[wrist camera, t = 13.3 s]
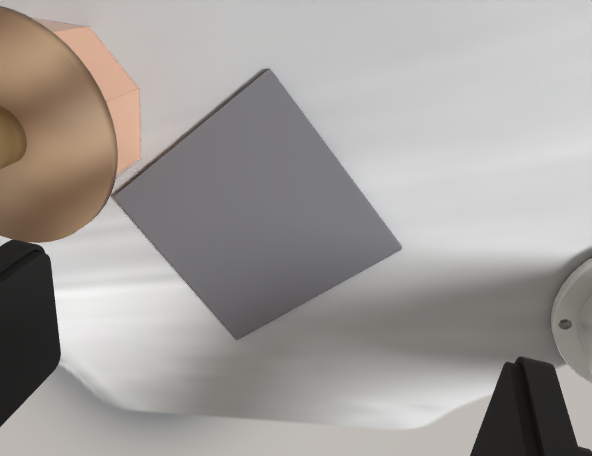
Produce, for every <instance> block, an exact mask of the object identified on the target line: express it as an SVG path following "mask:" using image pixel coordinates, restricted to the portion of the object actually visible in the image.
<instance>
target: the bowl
mask: <svg viewBox="0 0 592 456" xmlns="http://www.w3.org/2000/svg"><path fill="white" fill-rule="evenodd" d="M32 19H34V18H32ZM34 20H36V21H37V22H39V23H41V24H42V25H44V26H45V27H46V28H48V29H49V30H51V31H52V32H53V33H55V34H56V35H57V36H58V37H59V38H60V39H61V40H63V41H64V42H65V43H66V44H67V45H68V46H69V47H70V48H71V49H72V50H73V51H74V53H75V54H76V55H77V56H78V57H79V58H80V59H81V61H82V62H83V63H84V65H85V66H86V67H87V69H88V70H89V71H90V73H91V74H92V76H93V78H94V79H95V81H96V83H97V85H98V86H99V88H100V90H101V92H102V94H103V96H104V99H105V101H106V103H107V105H108V108H109V111H110V114H111V117H112V120H113V124H114V128H115V133H116V139H117V149H118V166H117V173H116V178H117V177H119V176H120V175H121V174H122V173H123V172H124V171H126V170H127V169H128V168H129V167H130V166H132V165H133V164H134V163H135V162H136V161H138V160H139V159H141V153H140V103H139V90H140V89H139V88H138V87H137V86H136V84H135V83H134V82H133V81H132V79H131V78H130V77H129V76H128V75H127V73H126V72H125V71H124V70H123V68H122V67H121V66H120V65H119V63H118V62H117V61H116V60H115V58H114V57H113V56H112V55H111V54H110V52H109V51H108V50H107V49H106V47H105V46H104V45H103V44H102V42H101V41H100V40H99V39H98V37H97V36H96V35H95V34H94V33H93V31H92V30H91V29H90V27H85V26H79V25H72V24H66V23H60V22H53V21H47V20H41V19H34Z"/></svg>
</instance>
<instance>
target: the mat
mask: <svg viewBox="0 0 592 456" xmlns="http://www.w3.org/2000/svg"><path fill="white" fill-rule="evenodd" d="M113 198H114V199H115V200H116V202H117V203H118V204H119V205H120V206H121V207H122V209H123V210H124V211H125V212H126V213H127V214H128V215H129V217H130V218H131V219H132V220H133V221H134V222H135V224H136V225H137V226H138V227H139V228H140V229H141V230H142V232H143V233H144V234H145V235H146V236H147V237H148V239H149V240H150V241H151V242H152V243H153V244H154V245H155V247H156V248H157V249H158V250H159V251H160V252H161V254H162V255H163V256H164V257H165V258H166V259H167V260H168V262H169V263H170V264H171V265H172V266H173V267H174V269H175V270H176V271H177V272H178V273H179V274H180V275H181V277H182V278H183V279H184V280H185V281H186V282H187V284H188V285H189V286H190V287H191V288H192V289H193V290H194V292H195V293H196V294H197V295H198V296H199V297H200V299H201V300H202V301H203V302H204V303H205V304H206V305H207V307H208V308H209V309H210V310H211V311H212V312H213V314H214V315H215V316H216V317H217V318H218V319H219V320H220V322H221V323H222V324H223V325H224V326H225V327H226V329H227V330H228V331H229V332H230V333H231V334H232V335H233V337H234V338H235V339H236V340H238V339H240V338H242V337H243V336H245V335H247V334H249V333H251V332H252V331H254V330H256V329H258V328H260V327H262V326H263V325H265V324H267V323H269V322H271V321H272V320H274V319H276V318H278V317H280V316H282V315H283V314H285V313H287V312H289V311H291V310H292V309H294V308H296V307H298V306H300V305H302V304H303V303H305V302H307V301H309V300H311V299H312V298H314V297H316V296H318V295H320V294H322V293H323V292H325V291H327V290H329V289H331V288H332V287H334V286H336V285H338V284H340V283H342V282H343V281H345V280H347V279H349V278H351V277H352V276H354V275H356V274H358V273H360V272H362V271H363V270H365V269H367V268H369V267H371V266H372V265H374V264H376V263H378V262H380V261H382V260H383V259H385V258H387V257H389V256H391V255H392V254H394V253H396V252H398V251H400V250H401V248H402V246H401V245H400V244H399V242H398V241H397V240H396V238H395V237H394V236H393V234H392V233H391V231H390V230H389V229H388V227H387V226H386V225H385V223H384V222H383V221H382V219H381V218H380V217H379V215H378V214H377V213H376V211H375V210H374V209H373V207H372V206H371V204H370V203H369V202H368V200H367V199H366V198H365V196H364V195H363V194H362V192H361V191H360V190H359V188H358V187H357V186H356V184H355V183H354V182H353V180H352V179H351V178H350V176H349V175H348V173H347V172H346V171H345V169H344V168H343V167H342V165H341V164H340V163H339V161H338V160H337V159H336V157H335V156H334V155H333V153H332V152H331V151H330V149H329V148H328V146H327V145H326V144H325V142H324V141H323V140H322V138H321V137H320V136H319V134H318V133H317V132H316V130H315V129H314V128H313V126H312V125H311V124H310V122H309V121H308V119H307V118H306V117H305V115H304V114H303V113H302V111H301V110H300V109H299V107H298V106H297V105H296V103H295V102H294V101H293V99H292V98H291V97H290V95H289V94H288V92H287V91H286V90H285V88H284V87H283V86H282V84H281V83H280V82H279V80H278V79H277V78H276V76H275V75H274V74H273V72H272V71H271V70H270V69H268V70H267V71H266V72H265V73H263V74H262V75H261V76H260V77H258V78H257V79H256V80H255V81H254V82H252V83H251V84H250V85H249V86H248V87H246V88H245V89H244V90H243V91H241V92H240V93H239V94H238V95H237V96H235V97H234V98H233V99H232V100H231V101H229V102H228V103H227V104H226V105H224V106H223V107H222V108H221V109H220V110H218V111H217V112H216V113H215V114H214V115H212V116H211V117H210V118H209V119H207V120H206V121H205V122H204V123H203V124H201V125H200V126H199V127H198V128H197V129H195V130H194V131H193V132H192V133H190V134H189V135H188V136H187V137H186V138H184V139H183V140H182V141H181V142H180V143H178V144H177V145H176V146H175V147H173V148H172V149H171V150H170V151H169V152H167V153H166V154H165V155H164V156H163V157H161V158H160V159H159V160H158V161H156V162H155V163H154V164H153V165H152V166H150V167H149V168H148V169H147V170H146V171H144V172H143V173H142V174H141V175H139V176H138V177H137V178H136V179H135V180H133V181H132V182H131V183H130V184H129V185H127V186H126V187H125V188H124V189H122V190H121V191H120V192H119V193H118V194H116V195H115V196H114V197H113Z"/></svg>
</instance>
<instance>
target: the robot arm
mask: <svg viewBox="0 0 592 456" xmlns="http://www.w3.org/2000/svg"><path fill="white" fill-rule="evenodd" d="M551 329H552V332H553V336H554V340H555V343H556V345H557V348H558V350H559V353H560V355H561V356H562V357H563V359H564V360H565V362H566V363H567V365H568V366H569V367H570V368H572V369H573V370H574V371H575V372H576V373H577V374H578V375H579V376H581V377H582V378H584V379H586V380H587V381H589V382H590V383H592V258H590V259H589V260H587V261H585V262H584V263H583V264H582V265H581V266H579V267H578V268H577V269H576V270H575V271H574V272H573V273H571V275H570V276H569V277H568V278H567V280H566V281H565V282H564V283H563V285H562V286H561V288H560V290H559V292H558V294H557V296H556V298H555V300H554V304H553V308H552V312H551ZM60 356H61V351H60V342H59V333H58V324H57V315H56V306H55V297H54V287H53V278H52V269H51V261H50V257H49V256H48V255H47V254H45V251H44V249H43V248H42V247H41V246H39V245H36V244H32V243H28V242H23V241H19V240H11V241H8V242H7V243H5V244H3V245H2V246H0V427H1V426H2V425H3V424H4V422H5V421H6V420H7V419H8V418H9V417H10V416H11V415H12V414H13V413H14V412H15V411H16V410H17V409H18V408H19V407H20V406H21V405H22V404H23V403H24V402H25V400H26V399H27V398H28V397H29V396H30V395H31V394H32V393H33V392H34V391H35V390H36V389H37V388H38V387H39V386H40V385H41V384H42V383H43V381H45V379H47V377H48V376H49V375H50V374H51V373H52V372H53V371H54V370H55V369H56V367H57V365H58V363H59V361H60ZM470 456H592V451H591V450H590V449H586V448H582V447H578V445H577V442H576V438H575V435H574V432H573V428H572V425H571V421H570V418H569V415H568V412H567V408H566V405H565V401H564V398H563V395H562V391H561V388H560V385H559V381H558V378H557V374H556V371H555V368H554V366H553V365H552V364H550V363H546V362H542V361H537V360H533V359H529V358H524V357H518V359H517V360H516V362H515V363H511V362H506V363H505V364H504V366H503V368H502V371H501V374H500V377H499V379H498V382H497V385H496V387H495V390H494V393H493V395H492V398H491V401H490V403H489V406H488V409H487V412H486V414H485V417H484V420H483V422H482V425H481V428H480V431H479V433H478V436H477V438H476V441H475V444H474V447H473V449H472V452H471V455H470Z"/></svg>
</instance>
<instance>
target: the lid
mask: <svg viewBox="0 0 592 456" xmlns="http://www.w3.org/2000/svg"><path fill="white" fill-rule="evenodd" d="M117 166H118V149H117V139H116V133H115V128H114V124H113V120H112V117H111V114H110V111H109V108H108V105H107V103H106V101H105V99H104V96H103V94H102V92H101V90H100V88H99V86H98V85H97V83H96V81H95V79H94V78H93V76H92V74H91V73H90V71H89V70H88V69H87V67H86V66H85V65H84V63H83V62H82V61H81V59H80V58H79V57H78V56H77V55H76V54H75V53H74V51H73V50H72V49H71V48H70V47H69V46H68V45H67V44H66V43H65V42H64V41H63V40H61V39H60V38H59V37H58V36H57V35H56V34H55V33H53V32H52V31H51V30H49V29H48V28H46V27H45V26H44V25H42V24H41V23H39V22H37V21H36V20H34V19H32V18H30V17H28V16H26V15H25V14H22V13H19V12H17V11H14V10H12V9H9V8H5V7H1V6H0V236H3V237H6V238H10V239H13V240H19V241H24V242H38V243H40V242H50V241H55V240H58V239H62V238H65V237H67V236H69V235H71V234H73V233H75V232H76V231H78V230H79V229H81V228H82V227H84V226H85V225H86V224H88V223H89V222H91V221H92V220H93V219H94V218H95V217H96V216H97V215H98V214H99V213H100V211H101V210H102V208H103V207H104V206H105V204H106V203H107V201H108V199H109V197H110V195H111V192H112V189H113V186H114V183H115V179H116V173H117Z"/></svg>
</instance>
